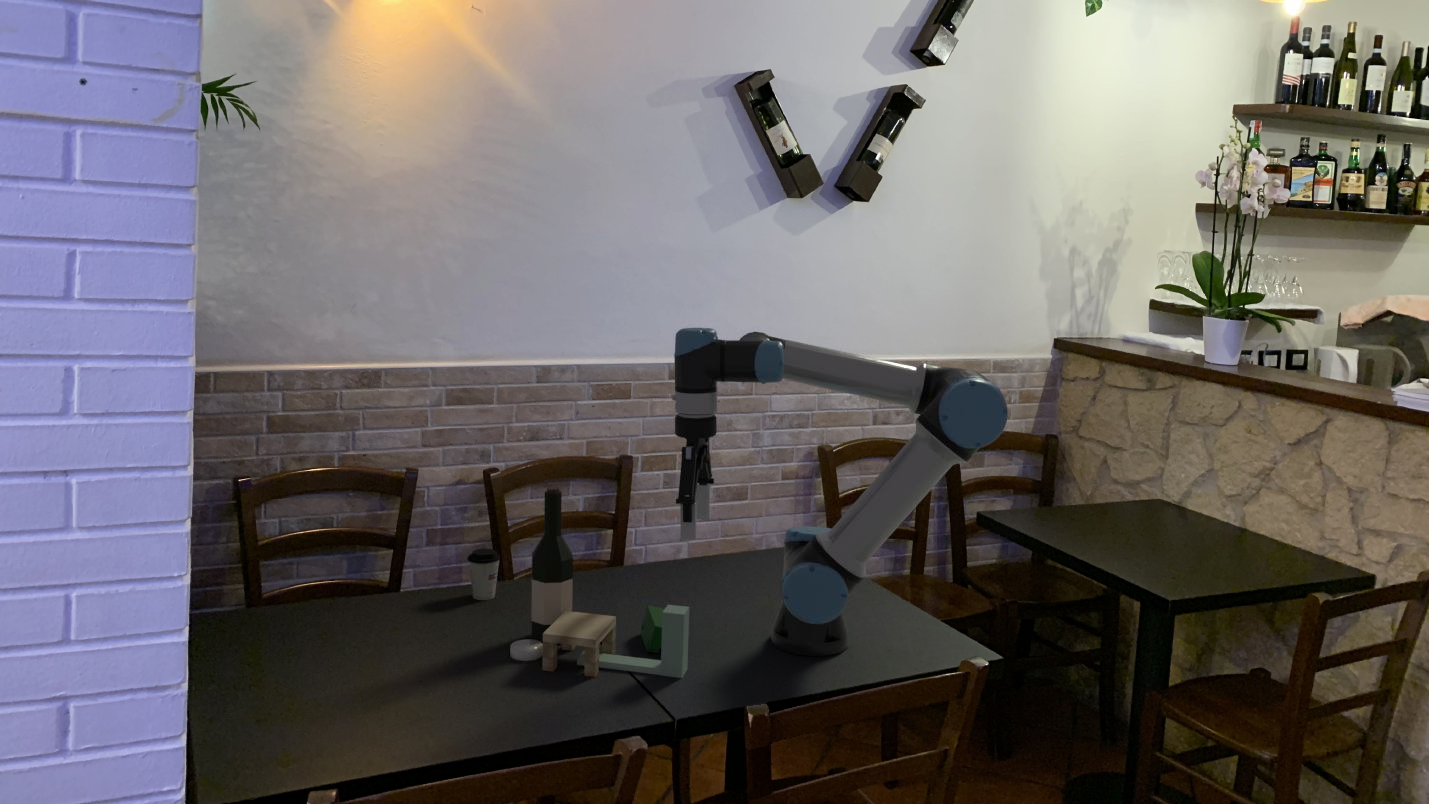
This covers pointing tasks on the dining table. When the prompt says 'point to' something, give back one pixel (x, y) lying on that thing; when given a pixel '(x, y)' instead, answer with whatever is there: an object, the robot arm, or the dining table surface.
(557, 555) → the wine bottle
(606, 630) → the riser
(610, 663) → the l-shaped bracket
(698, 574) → the dining table surface
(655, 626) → the clamp
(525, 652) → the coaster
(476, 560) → the coffee cup
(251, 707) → the dining table surface
